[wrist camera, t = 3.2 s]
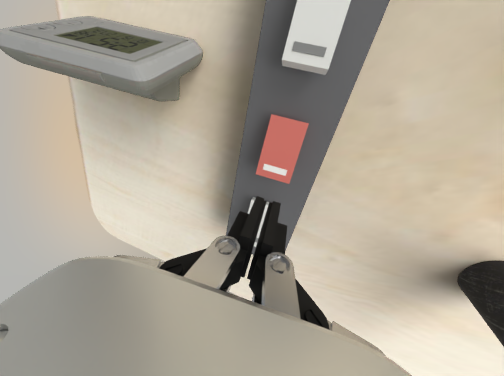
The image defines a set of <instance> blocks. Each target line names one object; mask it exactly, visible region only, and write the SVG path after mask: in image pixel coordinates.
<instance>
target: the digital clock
mask: <svg viewBox="0 0 504 376" xmlns="http://www.w3.org/2000/svg"><path fill="white" fill-rule="evenodd" d="M0 49H1V50H2V51H4V52H5V53H6V54H8V55H9V56H10V57H12V58H14V59H16V60H17V61H19V62H21V63H24V64H27V65H31V66H34V67H37V68H41V69H45V70H48V71H52V72H56V73H59V74H63V75H67V76H70V77H74V78H77V79H81V80H85V81H88V82H92V83H96V84H99V85H102V86H106V87H110V88H113V89H117V90H121V91H124V92H128V93H131V94H135V95H139V96H142V97H146V98H150V99H153V100H157V101H173V100H179V84H180V77H181V76H182V75H184V74H185V73H187V72H189V71H190V70H192V69H194V68H195V67H197V66H198V64H199V63H200V61H201V60H202V57H203V50H202V49H201V47H200V46H199V45H198V43H197V42H196V41H195V40H193V39H190V38H185V37H181V36H177V35H172V34H168V33H164V32H159V31H155V30H150V29H146V28H141V27H137V26H132V25H128V24H124V23H119V22H115V21H110V20H106V19H101V18H96V17H91V16H85V17H76V18H70V19H63V20H56V21H49V22H43V23H36V24H29V25H23V26H16V27H10V28H3V29H0Z"/></svg>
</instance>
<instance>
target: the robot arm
mask: <svg viewBox="0 0 504 376" xmlns="http://www.w3.org/2000/svg"><path fill="white" fill-rule="evenodd" d="M266 202H267V201H264V198H262V197H258V196H256V199H255V201H254V203H253V206H252V208H251V210H250V213H249V214H248V213H245V212H242V211H240V212H239V213H238V215H237V217H236V219H235V221H234V223H233V225H232V227H231V229H230V231H229V233H228V235H227V236H220V237H218V238H216V239H215V240H214V241H213V242H212V243H211V245H210V246H209V247H208V248H207V249H204V250H200V251H197V252H194V253H190V254H187V255H184V256H180V257H177V258H174V259H171V260H168V261H166V262H161V260H159V259H150V258H142V257H134V256H125V255H117V256H114V257H108V256H100V257H85V258H79V259H75V260H72V261H69V262H67V263H64V264H62V265H60V266H58V267H57V268H55V269H53V270H51V271H49V272H48V273H46V274H44V275H43V276H42V277H40V278H38V279H36V280H35V281H33V282H32V283H30V284H29V285H27V286H26V287H24V288H23V289H21V290H20V291H18V292H17V293H15V294H14V295H13V296H11V297H10V298H8V299H7V300H5V301H4V302H2V303H1V304H0V376H412V375H410V374H409V373H408V372H407V371H406V370H404V369H403V368H402V367H400V366H399V365H398V364H396V363H395V362H394V361H392V360H391V359H389V358H387V357H386V356H385V355H384V354H383V352H382V351H381V350H379V349H378V348H377V347H376V346H374V345H372V344H371V343H369V342H367V341H366V340H364V339H362V338H361V337H359V336H357V335H356V334H354V333H352V332H351V331H349V330H347V329H346V328H344V327H342V326H341V325H339V324H337V323H336V322H334V321H333V322H332V323H331V322H329V321H328V320H327V318H326V317H325V315H324V314H323V312H322V311H321V310H320V309H319V307H318V306H317V305H316V304H315V302H314V301H313V300H312V299H311V297H310V296H309V295H308V294H307V292H306V291H305V290H304V289H303V287H302V286H301V285H300V284H299V282H298V281H297V280H296V279H295V274H294V267H293V263H292V261H291V260H290V259H289V258H288V257H287V256H286V255H285V246H286V235H287V225H284V224H281V223H278V217H279V212H280V206H281V203H279V202H275V201H273V202H272V203H271V202H269V205H268V208H267V212H266V215H265V218H264V222H263V225H262V228H261V232H260V235H259V238H258V242H257V245H256V249H255V252H254V256H253V259H252V263H251V266H250V270H249V273H248V277H247V279H250V284H249V286H250V288H251V290H252V291H253V293H254V294H253V298H252V301H249V300H247V299H244V298H241V297H238V296H236V295H233V294H230V293H228V292H229V290H230V287H231V285H233V284H235V283H237V282H239V280H240V277H244V276H245V273H246V270H247V267H248V263H249V260H250V257H251V253H252V250H253V247H254V243H255V240H256V237H257V233H258V230H259V227H260V223H261V220H262V216H263V213H264V209H265V206H266Z"/></svg>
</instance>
